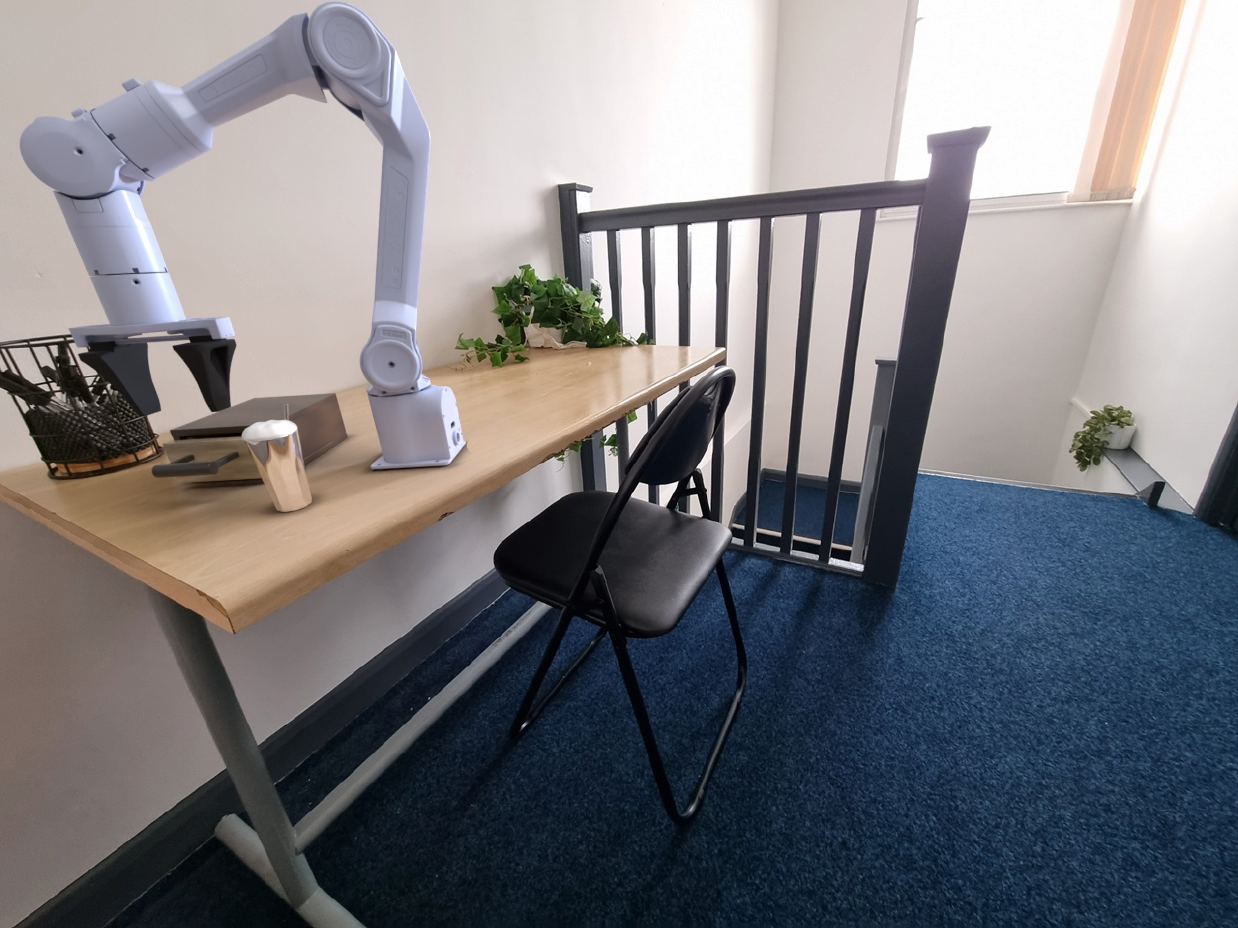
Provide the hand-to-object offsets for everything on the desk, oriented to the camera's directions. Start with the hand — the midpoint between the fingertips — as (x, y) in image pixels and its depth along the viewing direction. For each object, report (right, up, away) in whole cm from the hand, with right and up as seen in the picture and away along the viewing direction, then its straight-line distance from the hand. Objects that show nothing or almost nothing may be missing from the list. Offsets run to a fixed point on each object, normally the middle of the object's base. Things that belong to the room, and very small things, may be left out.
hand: (186, 411), depth 53 cm
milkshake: (+12, -10, -1) cm, 16 cm away
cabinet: (+1, -5, +13) cm, 14 cm away
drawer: (+1, -6, +8) cm, 10 cm away
